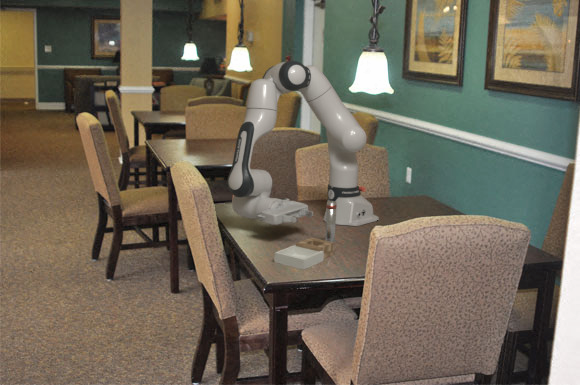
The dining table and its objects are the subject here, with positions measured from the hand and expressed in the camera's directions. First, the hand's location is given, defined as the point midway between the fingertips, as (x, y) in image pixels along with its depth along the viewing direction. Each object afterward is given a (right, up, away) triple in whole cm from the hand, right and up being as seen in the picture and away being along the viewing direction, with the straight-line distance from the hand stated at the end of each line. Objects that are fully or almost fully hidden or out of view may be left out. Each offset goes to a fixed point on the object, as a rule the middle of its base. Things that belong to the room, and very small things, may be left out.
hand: (304, 217), depth 224 cm
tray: (-2, -13, -18) cm, 23 cm away
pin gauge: (+8, -10, -4) cm, 14 cm away
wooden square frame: (+3, -12, -11) cm, 16 cm away
